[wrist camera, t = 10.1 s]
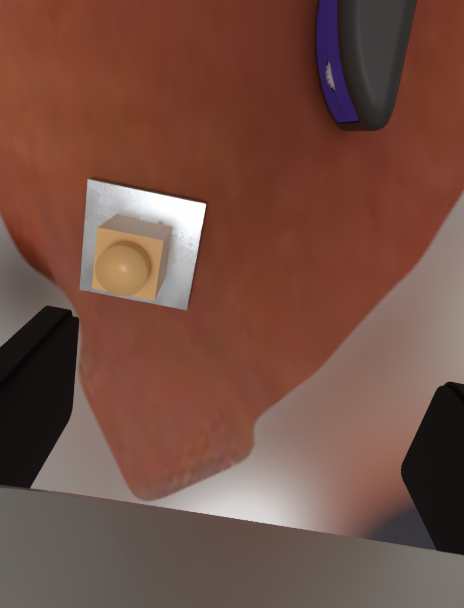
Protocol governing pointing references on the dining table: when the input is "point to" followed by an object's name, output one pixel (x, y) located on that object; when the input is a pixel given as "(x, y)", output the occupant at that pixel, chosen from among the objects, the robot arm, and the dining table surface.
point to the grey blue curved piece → (362, 58)
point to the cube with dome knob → (131, 257)
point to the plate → (151, 208)
